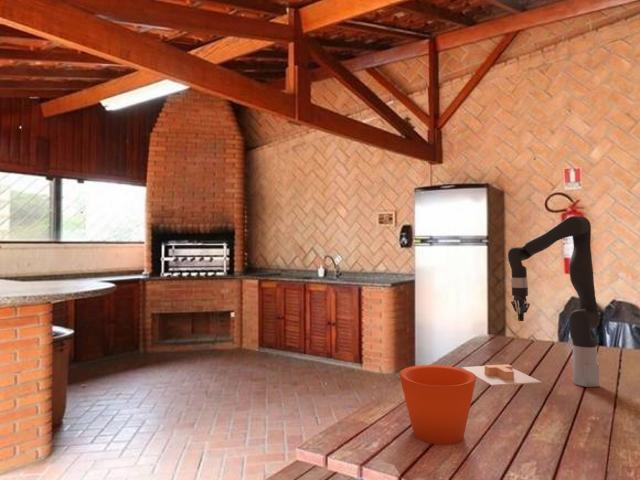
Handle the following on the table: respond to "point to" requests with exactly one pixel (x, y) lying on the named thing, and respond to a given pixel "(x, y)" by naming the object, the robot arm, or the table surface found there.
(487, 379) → the board
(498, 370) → the t block
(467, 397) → the flowerpot
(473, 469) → the table surface
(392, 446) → the table surface
